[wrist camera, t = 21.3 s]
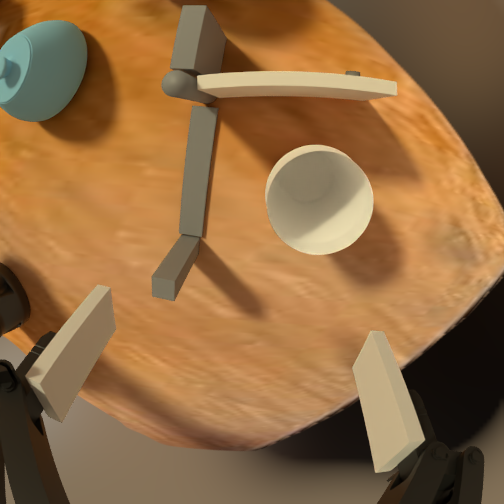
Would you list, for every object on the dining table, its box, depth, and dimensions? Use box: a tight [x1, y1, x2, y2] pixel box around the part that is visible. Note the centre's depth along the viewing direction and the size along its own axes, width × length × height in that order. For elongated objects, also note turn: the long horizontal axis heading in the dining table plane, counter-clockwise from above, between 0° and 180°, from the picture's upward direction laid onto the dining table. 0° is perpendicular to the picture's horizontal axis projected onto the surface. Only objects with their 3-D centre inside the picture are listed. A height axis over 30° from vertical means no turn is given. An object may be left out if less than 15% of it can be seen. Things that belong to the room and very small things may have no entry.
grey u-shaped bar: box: [152, 5, 227, 301], centre depth 27 cm, size 3×28×12 cm, turn 171°
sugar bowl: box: [0, 20, 87, 122], centre depth 23 cm, size 15×15×12 cm
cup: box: [265, 145, 373, 255], centre depth 28 cm, size 9×9×12 cm
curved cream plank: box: [197, 71, 397, 101], centre depth 24 cm, size 16×2×10 cm, turn 91°
